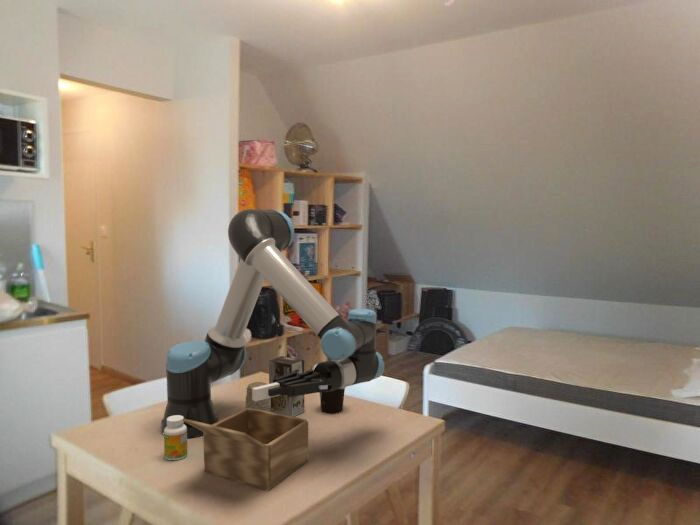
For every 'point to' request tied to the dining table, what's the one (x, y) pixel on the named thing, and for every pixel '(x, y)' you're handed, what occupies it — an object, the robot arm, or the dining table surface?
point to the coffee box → (285, 403)
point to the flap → (224, 432)
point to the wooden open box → (257, 448)
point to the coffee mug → (332, 401)
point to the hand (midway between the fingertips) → (253, 394)
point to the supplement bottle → (175, 438)
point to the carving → (260, 404)
